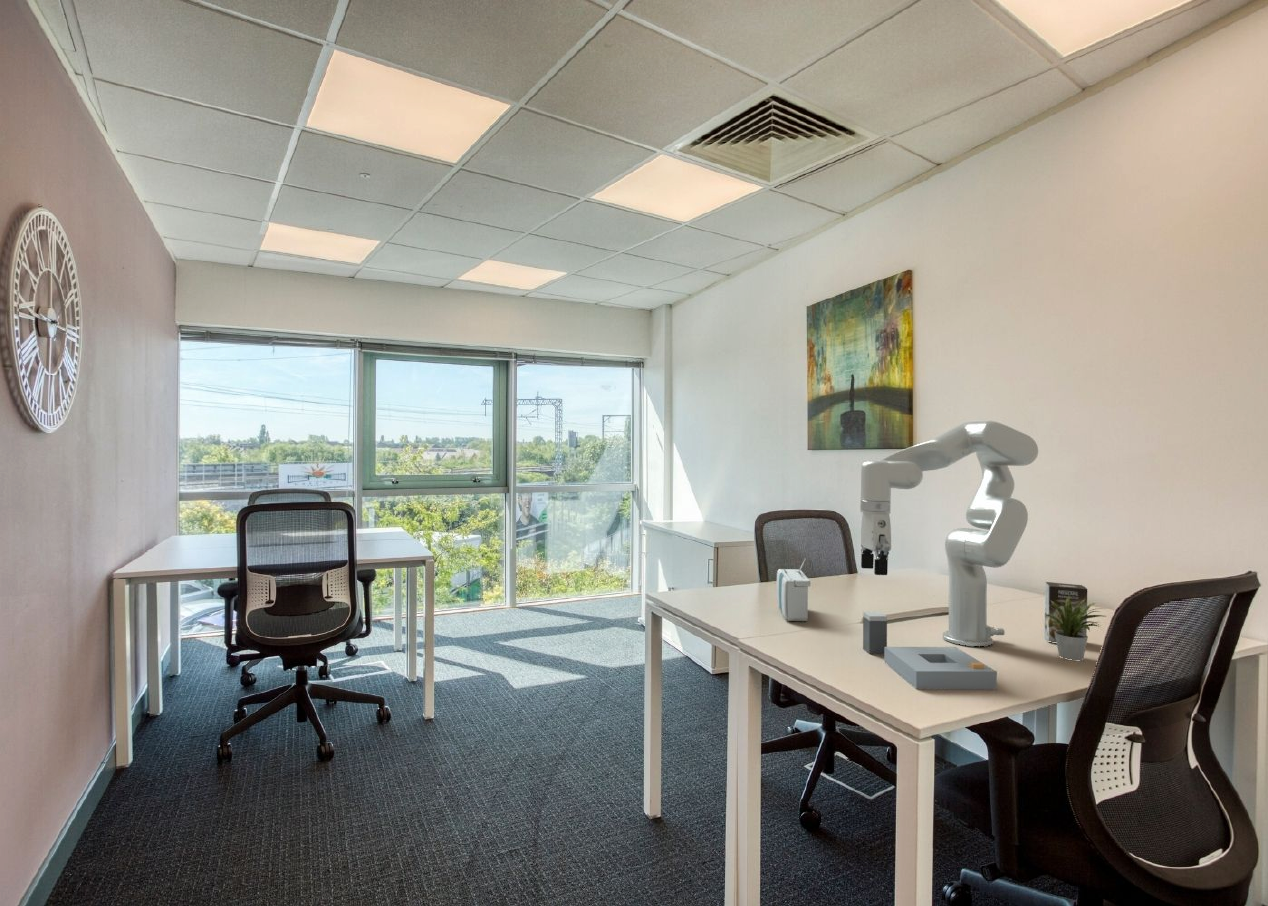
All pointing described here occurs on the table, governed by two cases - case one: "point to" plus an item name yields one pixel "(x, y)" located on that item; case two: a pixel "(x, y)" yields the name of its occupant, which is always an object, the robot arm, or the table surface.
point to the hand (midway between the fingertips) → (873, 571)
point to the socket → (940, 668)
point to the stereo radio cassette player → (793, 593)
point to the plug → (874, 632)
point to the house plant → (1072, 629)
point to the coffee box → (1061, 594)
